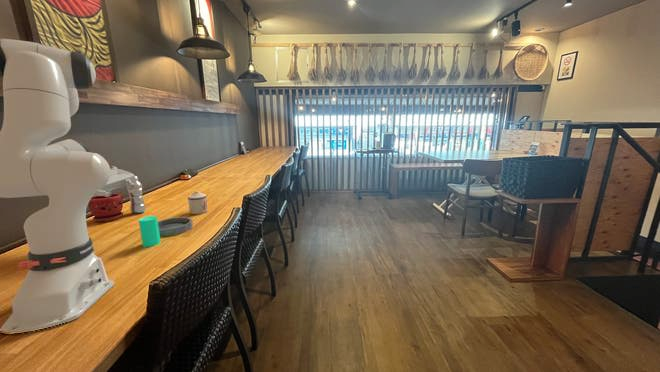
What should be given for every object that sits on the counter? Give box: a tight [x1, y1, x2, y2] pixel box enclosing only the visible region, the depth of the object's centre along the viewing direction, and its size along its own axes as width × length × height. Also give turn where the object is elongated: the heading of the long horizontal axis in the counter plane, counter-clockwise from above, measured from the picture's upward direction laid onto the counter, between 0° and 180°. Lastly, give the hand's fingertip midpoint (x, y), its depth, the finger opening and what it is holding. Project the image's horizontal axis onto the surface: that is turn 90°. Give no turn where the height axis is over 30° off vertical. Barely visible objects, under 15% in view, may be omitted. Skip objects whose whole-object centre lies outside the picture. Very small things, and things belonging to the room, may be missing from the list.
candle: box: [138, 214, 162, 248], centre depth 101 cm, size 6×6×12 cm
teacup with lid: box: [187, 190, 208, 215], centre depth 141 cm, size 12×9×12 cm
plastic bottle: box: [126, 175, 147, 214], centre depth 137 cm, size 6×7×20 cm
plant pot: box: [87, 193, 124, 223], centre depth 129 cm, size 13×13×12 cm
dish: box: [157, 216, 194, 237], centre depth 117 cm, size 15×15×3 cm
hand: (122, 190), depth 101 cm, fingers open, 8 cm apart
